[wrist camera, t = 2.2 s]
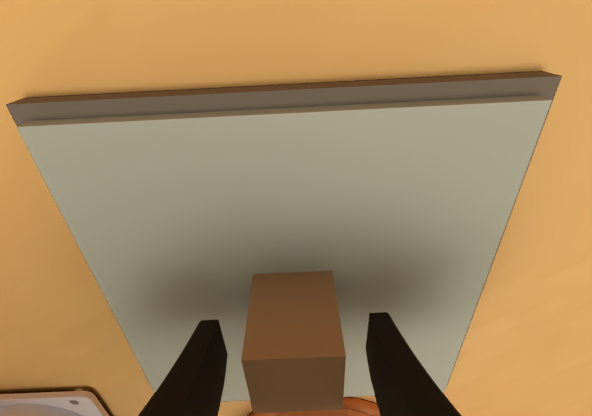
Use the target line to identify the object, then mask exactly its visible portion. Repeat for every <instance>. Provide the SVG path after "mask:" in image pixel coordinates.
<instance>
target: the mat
mask: <svg viewBox="0 0 592 416" xmlns="http://www.w3.org/2000/svg"><path fill="white" fill-rule="evenodd" d="M561 77H562V76H560V75H556V74H552V73H548V72H544V71H539V72H520V73H500V74H481V75H461V76H442V77H422V78H403V79H383V80H364V81H345V82H325V83H306V84H286V85H267V86H247V87H228V88H208V89H189V90H169V91H150V92H130V93H111V94H92V95H72V96H53V97H33V98H23V99H20V100H17V101H15V102H12V103H9V104H6V106H7V108H8V110H9V112H10V114H11V116H12V118H13V119H14V121H15V123H16V125H17V127H18V126H20V125H22V124H25V123H27V122H29V121H35V120H55V119H74V118H94V117H114V116H134V115H153V114H173V113H193V112H213V111H233V110H252V109H272V108H292V107H312V106H332V105H351V104H371V103H391V102H411V101H431V100H450V99H470V98H490V97H510V96H530V95H539V96H542V97H545V98H548V99H551V100H552V101H553V99H554V96H555V93H556V91H557V88H558V85H559V82H560V80H561ZM551 104H552V102H551ZM550 107H551V105H550ZM550 107H549V109H550ZM548 112H549V110H548ZM547 115H548V113H547ZM547 115H546V118H547ZM546 118H545V120H546ZM544 123H545V121H544ZM544 123H543V126H544ZM543 126H542V128H543ZM541 131H542V129H541ZM540 134H541V132H540ZM540 134H539V136H540ZM538 139H539V137H538ZM537 142H538V140H537ZM537 142H536V144H537ZM535 147H536V145H535ZM534 150H535V148H534ZM533 153H534V151H533ZM533 153H532V155H533ZM531 158H532V156H531ZM530 161H531V159H530ZM530 161H529V163H530ZM528 166H529V164H528ZM527 169H528V167H527ZM526 171H527V170H526ZM525 174H526V172H525ZM524 177H525V175H524ZM523 180H524V178H523ZM523 180H522V182H523ZM521 185H522V183H521ZM520 188H521V186H520ZM520 188H519V190H520ZM518 193H519V191H518ZM517 196H518V194H517ZM516 198H517V197H516ZM515 201H516V199H515ZM514 204H515V202H514ZM513 207H514V205H513ZM513 207H512V209H513ZM511 212H512V210H511ZM510 215H511V213H510ZM509 217H510V216H509ZM508 220H509V218H508ZM507 223H508V221H507ZM506 225H507V224H506ZM505 228H506V226H505ZM504 231H505V229H504ZM503 234H504V232H503ZM502 236H503V235H502ZM501 239H502V237H501ZM500 242H501V240H500ZM499 244H500V243H499ZM498 247H499V245H498ZM497 250H498V248H497ZM496 252H497V251H496ZM495 255H496V253H495ZM494 258H495V256H494ZM493 261H494V259H493ZM492 263H493V262H492ZM491 266H492V264H491ZM490 269H491V267H490ZM489 271H490V270H489ZM488 274H489V272H488ZM487 277H488V275H487ZM486 279H487V278H486ZM485 282H486V281H485ZM484 285H485V283H484ZM483 288H484V286H483ZM482 290H483V289H482ZM481 293H482V291H481ZM480 296H481V294H480ZM479 298H480V297H479ZM478 301H479V300H478ZM477 304H478V302H477ZM476 306H477V305H476ZM475 309H476V308H475ZM474 312H475V310H474ZM473 315H474V313H473ZM472 317H473V316H472ZM471 320H472V319H471ZM470 323H471V321H470ZM469 325H470V324H469ZM468 328H469V327H468ZM467 331H468V329H467ZM466 333H467V332H466ZM465 336H466V335H465ZM464 339H465V337H464ZM463 342H464V340H463ZM462 344H463V343H462ZM461 347H462V346H461ZM460 350H461V348H460ZM459 352H460V351H459ZM458 355H459V354H458ZM457 358H458V356H457ZM456 360H457V359H456ZM455 363H456V362H455ZM454 366H455V365H454ZM453 369H454V367H453ZM452 371H453V370H452ZM451 374H452V373H451ZM450 377H451V375H450ZM449 379H450V378H449ZM448 382H449V381H448ZM447 385H448V384H447Z"/></svg>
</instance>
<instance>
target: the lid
mask: <svg viewBox="0 0 592 416" xmlns="http://www.w3.org/2000/svg"><path fill="white" fill-rule="evenodd" d="M551 102H552V100H551V99H548V98H545V97H542V96H539V95H530V96H510V97H490V98H470V99H450V100H431V101H411V102H391V103H371V104H351V105H332V106H312V107H292V108H272V109H252V110H233V111H213V112H193V113H173V114H153V115H134V116H114V117H94V118H74V119H55V120H35V121H29V122H27V123H25V124H22V125H20V126H18V127H17V129H18V131H19V133H20V135H21V137H22V139H23V140H24V142H25V144H26V146H27V148H28V150H29V152H30V154H31V156H32V158H33V160H34V162H35V164H36V166H37V167H38V169H39V171H40V173H41V175H42V177H43V179H44V181H45V183H46V185H47V187H48V189H49V191H50V192H51V194H52V196H53V198H54V200H55V202H56V204H57V206H58V208H59V210H60V212H61V214H62V216H63V218H64V219H65V221H66V223H67V225H68V227H69V229H70V231H71V233H72V235H73V237H74V239H75V241H76V243H77V245H78V246H79V248H80V250H81V252H82V254H83V256H84V258H85V260H86V262H87V264H88V266H89V268H90V270H91V272H92V273H93V275H94V277H95V279H96V281H97V283H98V285H99V287H100V289H101V291H102V293H103V295H104V297H105V298H106V300H107V302H108V304H109V306H110V308H111V310H112V312H113V314H114V316H115V318H116V320H117V322H118V324H119V325H120V327H121V329H122V331H123V333H124V335H125V337H126V339H127V341H128V343H129V345H130V347H131V349H132V351H133V352H134V354H135V356H136V358H137V360H138V362H139V364H140V366H141V368H142V370H143V372H144V374H145V376H146V378H147V379H148V381H149V383H150V385H151V387H152V389H153V391H154V393H155V392H156V390H157V389H158V388H159V386H160V385H161V383H162V382H163V380H164V379H165V377H166V376H167V374H168V373H169V371H170V370H171V368H172V367H173V365H174V363H175V362H176V360H177V359H178V357H179V356H180V354H181V352H182V351H183V349H184V347H185V346H186V344H187V342H188V341H189V339H190V337H191V336H192V334H193V332H194V330H195V329H196V327H197V325H198V323H199V322H200V321H201V320H217V319H218V320H219V323H220V327H221V331H222V335H223V339H224V342H225V346H226V350H227V354H228V356H227V365H226V374H225V382H224V388H223V393H222V397H221V402H228V401H251V405H252V409H253V413H275V412H300V411H326V410H343V397H353V396H375V394H374V390H373V386H372V382H371V378H370V373H369V367H368V361H367V355H366V340H367V331H368V322H369V313H380V312H387V313H388V314H390V316H391V318H392V320H393V321H394V323H395V325H396V326H397V328H398V330H399V331H400V333H401V335H402V336H403V338H404V339H405V341H406V342H407V344H408V345H409V347H410V348H411V350H412V351H413V353H414V354H415V356H416V357H417V359H418V360H419V361H420V363H421V364H422V366H423V367H424V368H425V370H426V371H427V373H428V374H429V375H430V377H431V378H432V379H433V381H434V382H435V383H436V385H437V386H438V387H439V389H440V390H441V391H442V392H443V393H444V392H445V389H446V386H447V384H448V381H449V378H450V375H451V373H452V370H453V367H454V365H455V362H456V359H457V356H458V354H459V351H460V348H461V346H462V343H463V340H464V337H465V335H466V332H467V329H468V327H469V324H470V321H471V319H472V316H473V313H474V310H475V308H476V305H477V302H478V300H479V297H480V294H481V291H482V289H483V286H484V283H485V281H486V278H487V275H488V272H489V270H490V267H491V264H492V262H493V259H494V256H495V253H496V251H497V248H498V245H499V243H500V240H501V237H502V235H503V232H504V229H505V226H506V224H507V221H508V218H509V216H510V213H511V210H512V207H513V205H514V202H515V199H516V197H517V194H518V191H519V188H520V186H521V183H522V180H523V178H524V175H525V172H526V170H527V167H528V164H529V161H530V159H531V156H532V153H533V151H534V148H535V145H536V142H537V140H538V137H539V134H540V132H541V129H542V126H543V123H544V121H545V118H546V115H547V113H548V110H549V107H550V105H551Z"/></svg>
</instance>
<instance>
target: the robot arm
mask: <svg viewBox="0 0 592 416" xmlns="http://www.w3.org/2000/svg"><path fill="white" fill-rule="evenodd" d="M366 355H367V361H368V367H369V373H370V378H371V382H372V386H373V390H374V394H375V397H376V401H377V405H378V408H379V412H380V416H461V415H460V413H459V412H458V411H457V410H456V409H455V407H454V406H453V405H452V404H451V403H450V401H449V400H448V399H447V397H446V396H445V395H444V394H443V392H442V391H441V390H440V389H439V387H438V386H437V385H436V383H435V382H434V381H433V379H432V378H431V377H430V375H429V374H428V373H427V371H426V370H425V368H424V367H423V366H422V364H421V363H420V361H419V360H418V359H417V357H416V356H415V354H414V353H413V351H412V350H411V348H410V347H409V345H408V344H407V342H406V341H405V339H404V338H403V336H402V335H401V333H400V331H399V330H398V328H397V326H396V325H395V323H394V321H393V320H392V318H391V316H390V314H388V313H387V312H380V313H369V322H368V331H367V340H366ZM227 356H228V354H227V350H226V346H225V342H224V339H223V335H222V331H221V327H220V323H219V320H218V319H217V320H201V321H200V322H199V323H198V325H197V327H196V329H195V330H194V332H193V334H192V336H191V337H190V339H189V341H188V342H187V344H186V346H185V347H184V349H183V351H182V352H181V354H180V356H179V357H178V359H177V360H176V362H175V363H174V365H173V367H172V368H171V370H170V371H169V373H168V374H167V376H166V377H165V379H164V380H163V382H162V383H161V385H160V386H159V388H158V389H157V390H156V392H155V393H154V395H153V396H152V397H151V399H150V400H149V402H148V403H147V405H146V406H145V407H144V409H143V410H142V411H141V413H140V414H139V415H138V416H218V411H219V407H220V402H221V397H222V393H223V388H224V382H225V374H226V365H227ZM0 416H109V415H108V413H107V412H106V410H105V409H104V408H103V406H102V405H101V403H100V402H99V401H98V399H97V398H96V396H95V395H94V394H93V393H92V392H89V391H63V392H39V393H14V394H0Z"/></svg>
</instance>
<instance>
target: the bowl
mask: <svg viewBox="0 0 592 416" xmlns="http://www.w3.org/2000/svg"><path fill="white" fill-rule="evenodd" d="M249 416H380V412H379V408H378V405H377V404H375V403H372V402H369V401H365V400H361V399H357V398H350V397H343V410H326V411H300V412H275V413H252V414H251V415H249Z"/></svg>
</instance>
